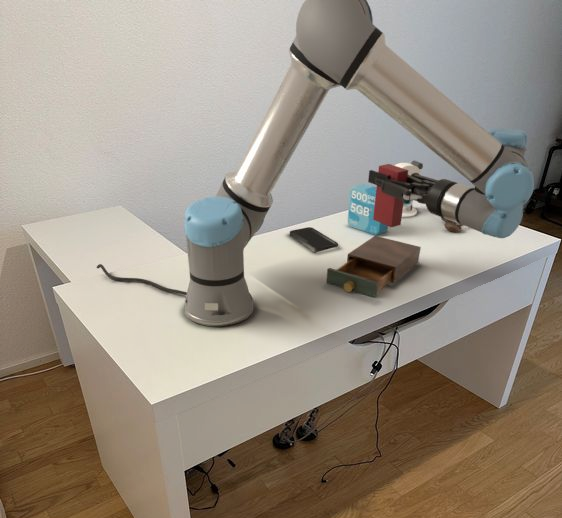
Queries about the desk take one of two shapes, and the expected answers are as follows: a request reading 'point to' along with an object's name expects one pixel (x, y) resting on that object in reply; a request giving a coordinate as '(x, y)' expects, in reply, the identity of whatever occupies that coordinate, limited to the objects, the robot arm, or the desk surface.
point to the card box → (389, 198)
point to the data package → (364, 210)
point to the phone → (313, 239)
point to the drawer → (360, 277)
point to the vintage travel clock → (451, 225)
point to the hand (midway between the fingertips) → (376, 174)
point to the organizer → (388, 254)
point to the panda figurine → (412, 168)
